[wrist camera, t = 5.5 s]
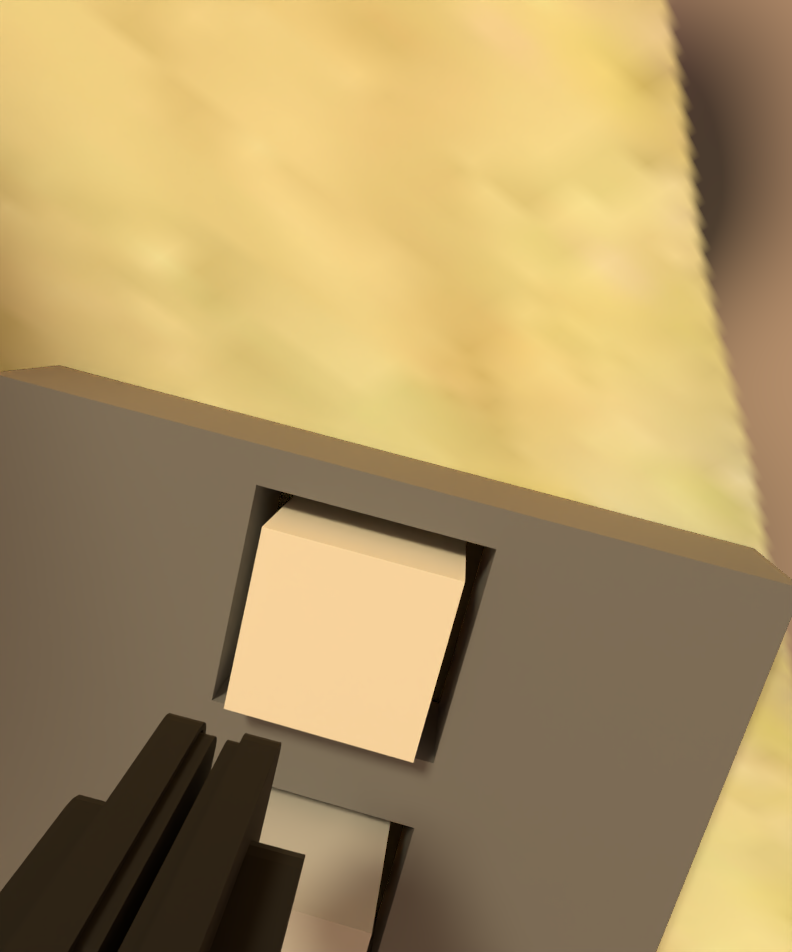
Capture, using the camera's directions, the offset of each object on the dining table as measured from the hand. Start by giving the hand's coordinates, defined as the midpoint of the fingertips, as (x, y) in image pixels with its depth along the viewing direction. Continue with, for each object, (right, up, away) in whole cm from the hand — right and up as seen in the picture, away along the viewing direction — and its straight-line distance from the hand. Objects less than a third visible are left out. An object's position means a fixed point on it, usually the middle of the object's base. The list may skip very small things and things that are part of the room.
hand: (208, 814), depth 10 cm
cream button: (+2, +2, +11) cm, 11 cm away
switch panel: (0, -7, +13) cm, 14 cm away
